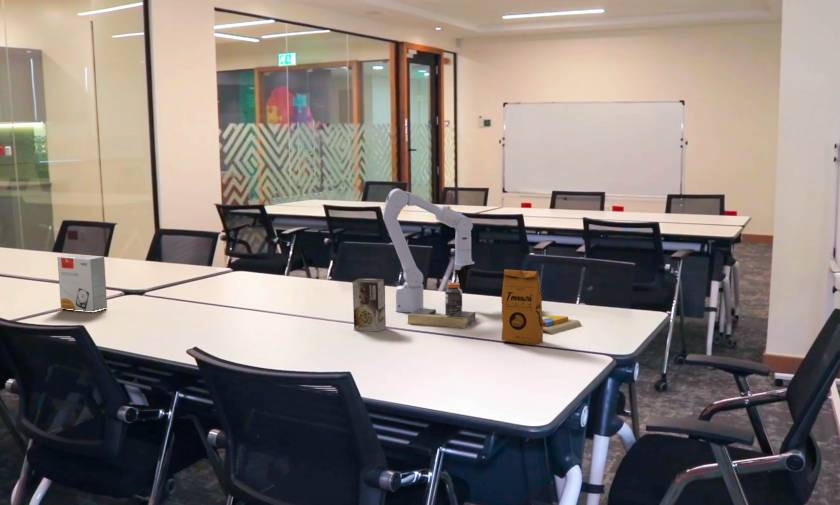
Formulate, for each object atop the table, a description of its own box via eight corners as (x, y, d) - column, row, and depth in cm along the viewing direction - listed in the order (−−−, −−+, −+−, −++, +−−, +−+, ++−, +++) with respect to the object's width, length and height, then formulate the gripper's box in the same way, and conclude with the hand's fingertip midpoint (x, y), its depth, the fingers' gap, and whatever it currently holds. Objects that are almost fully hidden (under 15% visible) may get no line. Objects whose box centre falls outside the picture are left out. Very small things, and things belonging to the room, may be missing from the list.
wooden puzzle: (536, 318, 277) (536, 308, 276) (582, 327, 264) (582, 316, 263) (503, 326, 265) (503, 316, 264) (550, 336, 251) (550, 325, 251)
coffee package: (536, 348, 235) (537, 274, 232) (496, 343, 241) (497, 271, 238) (547, 340, 244) (548, 269, 241) (509, 336, 250) (509, 266, 247)
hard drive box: (60, 310, 294) (56, 256, 292) (76, 306, 302) (72, 254, 299) (92, 313, 289) (89, 258, 286) (108, 309, 296) (105, 256, 293)
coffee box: (386, 327, 263) (385, 278, 261) (379, 331, 257) (378, 282, 255) (360, 325, 266) (359, 277, 264) (352, 330, 260) (351, 280, 258)
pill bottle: (465, 314, 282) (465, 282, 281) (457, 317, 277) (456, 285, 276) (450, 312, 285) (450, 281, 284) (442, 315, 281) (441, 283, 279)
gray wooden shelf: (407, 323, 268) (407, 314, 268) (420, 316, 279) (420, 308, 278) (464, 328, 261) (465, 319, 261) (475, 320, 272) (475, 312, 271)
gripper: (467, 252, 280) (467, 290, 282) (479, 247, 294) (479, 283, 295) (448, 251, 283) (448, 289, 285) (461, 246, 296) (461, 282, 298)
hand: (463, 286), depth 290 cm, fingers closed
